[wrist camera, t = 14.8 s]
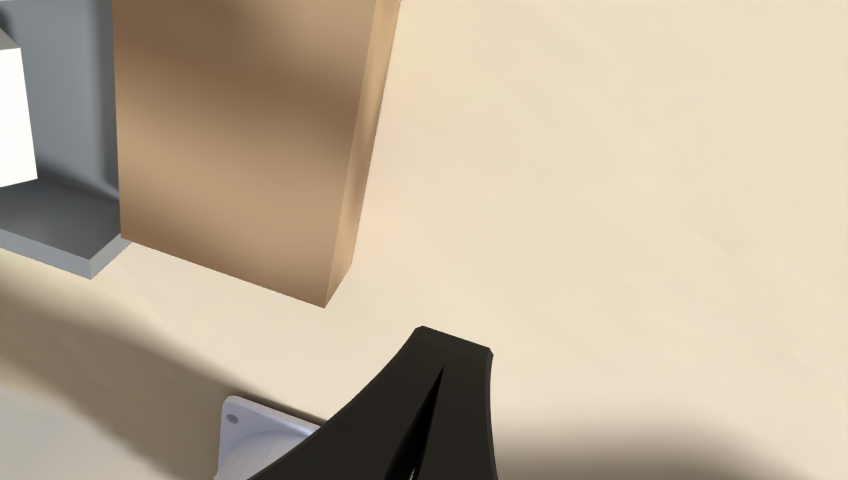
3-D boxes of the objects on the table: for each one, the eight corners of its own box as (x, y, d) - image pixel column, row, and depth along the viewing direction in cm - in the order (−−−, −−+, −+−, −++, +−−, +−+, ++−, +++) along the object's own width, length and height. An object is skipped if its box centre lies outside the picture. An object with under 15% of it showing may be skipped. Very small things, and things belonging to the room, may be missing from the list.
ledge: (350, 265, 26) (324, 308, 24) (161, 201, 26) (120, 237, 24) (421, -113, 19) (392, -97, 17) (162, -186, 19) (104, -179, 17)
